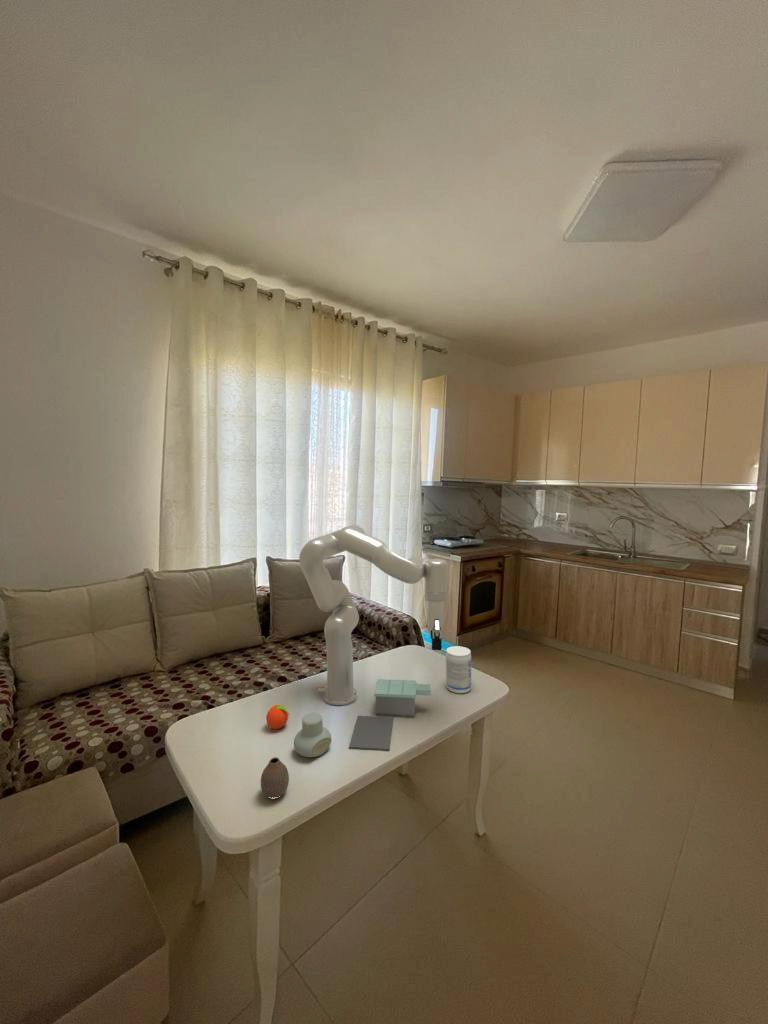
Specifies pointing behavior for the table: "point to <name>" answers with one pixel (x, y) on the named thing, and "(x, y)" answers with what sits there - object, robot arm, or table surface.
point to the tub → (395, 706)
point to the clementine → (277, 716)
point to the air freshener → (312, 736)
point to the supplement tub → (458, 669)
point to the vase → (274, 778)
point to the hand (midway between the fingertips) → (435, 643)
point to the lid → (400, 688)
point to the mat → (372, 733)
